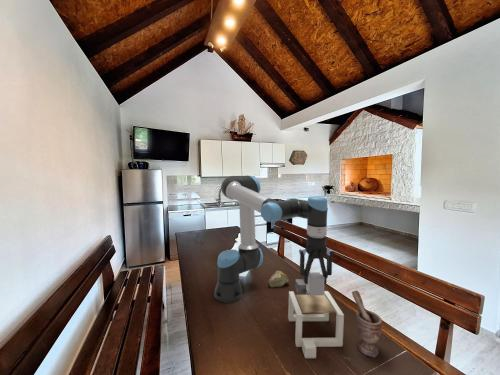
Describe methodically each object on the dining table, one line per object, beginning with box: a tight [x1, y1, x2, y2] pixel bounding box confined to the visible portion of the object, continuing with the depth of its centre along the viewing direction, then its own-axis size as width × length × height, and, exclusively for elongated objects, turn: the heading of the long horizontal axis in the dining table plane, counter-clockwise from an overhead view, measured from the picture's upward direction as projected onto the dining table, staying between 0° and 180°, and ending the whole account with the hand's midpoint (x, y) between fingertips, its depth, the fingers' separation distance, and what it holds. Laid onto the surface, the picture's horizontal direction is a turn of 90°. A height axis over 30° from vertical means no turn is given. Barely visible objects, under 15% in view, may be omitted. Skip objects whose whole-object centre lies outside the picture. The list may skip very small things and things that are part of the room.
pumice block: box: [301, 339, 317, 359], centre depth 80 cm, size 4×4×4 cm
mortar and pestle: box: [351, 290, 383, 358], centre depth 83 cm, size 12×9×20 cm
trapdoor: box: [294, 278, 336, 314], centre depth 94 cm, size 13×18×4 cm
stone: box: [309, 271, 325, 295], centre depth 88 cm, size 5×5×7 cm
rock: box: [267, 270, 290, 288], centre depth 129 cm, size 12×9×10 cm
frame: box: [287, 290, 345, 348], centre depth 91 cm, size 18×16×13 cm
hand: (314, 290), depth 88 cm, fingers closed on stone, 5 cm apart
